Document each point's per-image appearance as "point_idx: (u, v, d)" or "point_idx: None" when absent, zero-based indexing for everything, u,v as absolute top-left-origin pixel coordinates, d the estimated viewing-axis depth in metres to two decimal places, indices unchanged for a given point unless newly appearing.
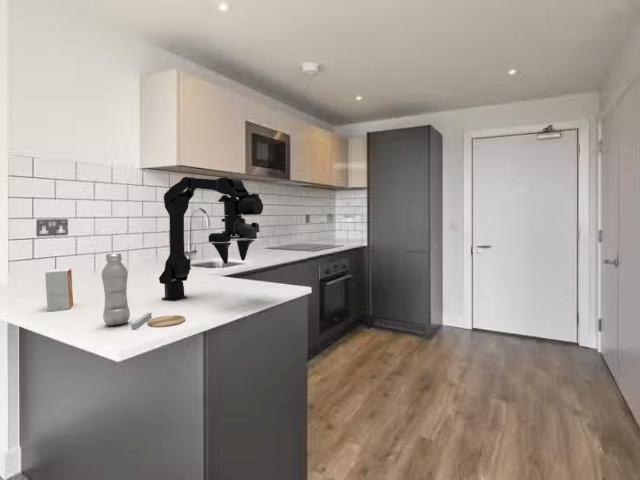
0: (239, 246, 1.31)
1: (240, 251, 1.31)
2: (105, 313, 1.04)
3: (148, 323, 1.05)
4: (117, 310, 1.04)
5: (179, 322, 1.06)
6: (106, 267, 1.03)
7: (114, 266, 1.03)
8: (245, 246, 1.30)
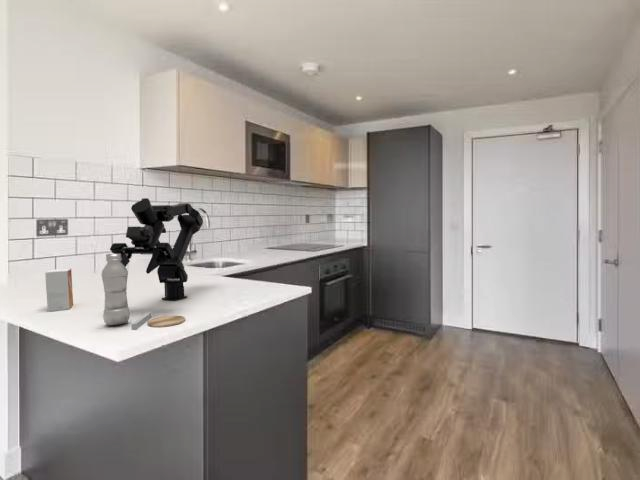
0: None
1: None
2: (105, 313, 1.04)
3: (148, 323, 1.05)
4: (117, 310, 1.04)
5: (179, 322, 1.06)
6: (106, 267, 1.03)
7: (114, 266, 1.03)
8: None
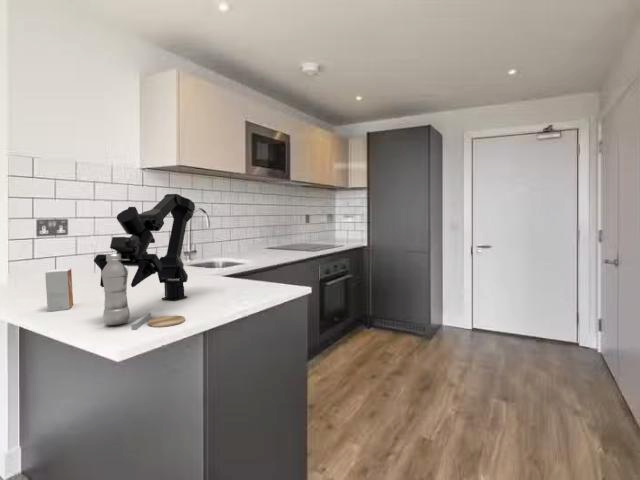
0: None
1: None
2: (105, 313, 1.04)
3: (148, 323, 1.05)
4: (117, 310, 1.04)
5: (179, 322, 1.06)
6: (106, 267, 1.03)
7: (114, 266, 1.03)
8: None
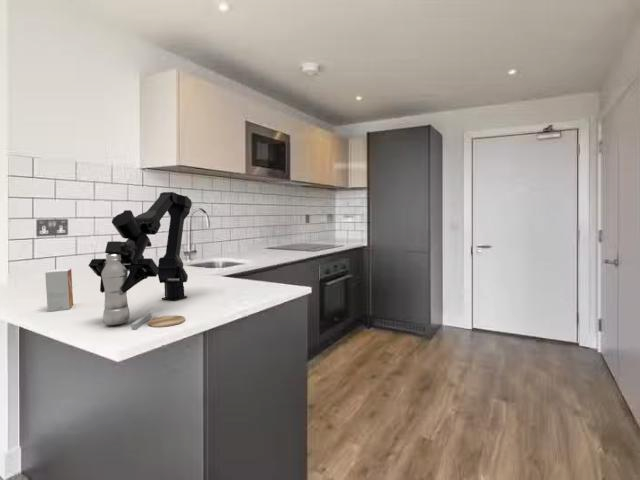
0: None
1: None
2: (105, 313, 1.04)
3: (148, 323, 1.05)
4: (117, 310, 1.04)
5: (179, 322, 1.06)
6: (106, 267, 1.03)
7: (114, 266, 1.03)
8: None
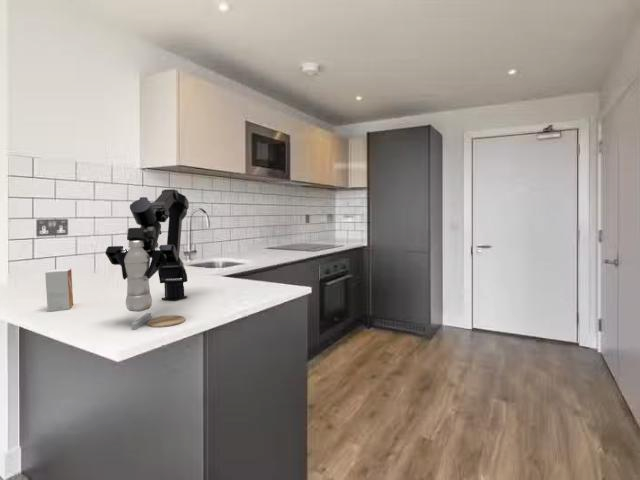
0: None
1: None
2: (129, 299, 1.03)
3: (148, 323, 1.05)
4: (142, 296, 1.04)
5: (179, 322, 1.06)
6: (130, 253, 1.03)
7: (139, 252, 1.03)
8: None
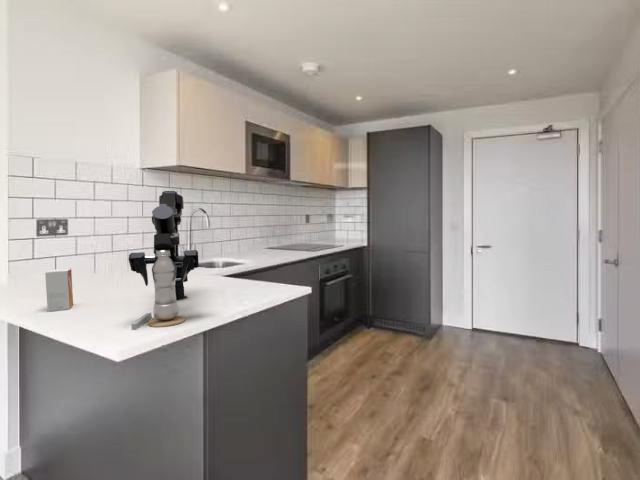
0: None
1: None
2: (159, 308, 1.05)
3: (148, 323, 1.05)
4: (171, 304, 1.06)
5: (179, 322, 1.06)
6: (160, 263, 1.05)
7: (168, 262, 1.06)
8: None
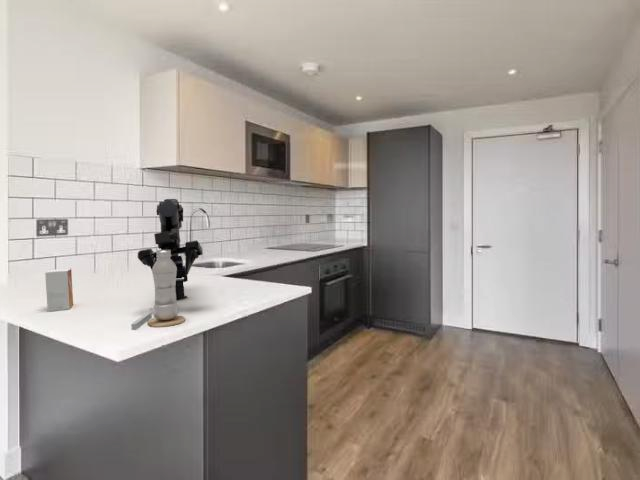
0: None
1: None
2: (159, 309, 1.05)
3: (148, 323, 1.05)
4: (172, 304, 1.06)
5: (179, 322, 1.06)
6: (160, 263, 1.05)
7: (168, 262, 1.06)
8: None
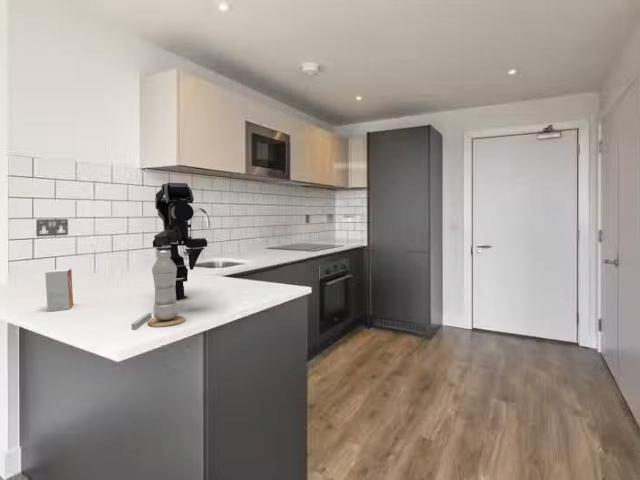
0: None
1: None
2: (159, 309, 1.05)
3: (148, 323, 1.05)
4: (172, 304, 1.06)
5: (179, 322, 1.06)
6: (160, 263, 1.05)
7: (168, 262, 1.06)
8: None
